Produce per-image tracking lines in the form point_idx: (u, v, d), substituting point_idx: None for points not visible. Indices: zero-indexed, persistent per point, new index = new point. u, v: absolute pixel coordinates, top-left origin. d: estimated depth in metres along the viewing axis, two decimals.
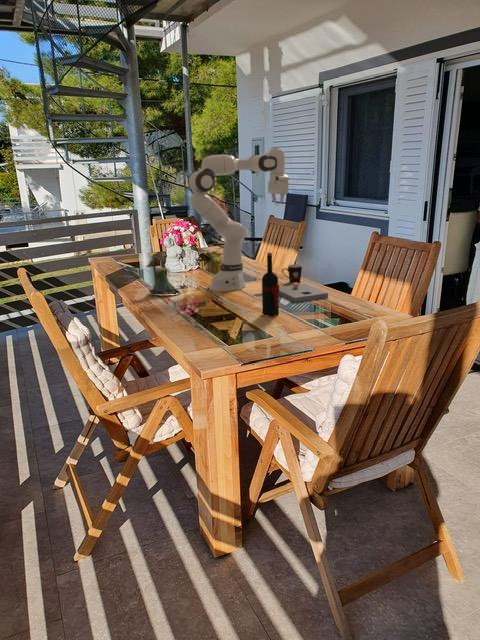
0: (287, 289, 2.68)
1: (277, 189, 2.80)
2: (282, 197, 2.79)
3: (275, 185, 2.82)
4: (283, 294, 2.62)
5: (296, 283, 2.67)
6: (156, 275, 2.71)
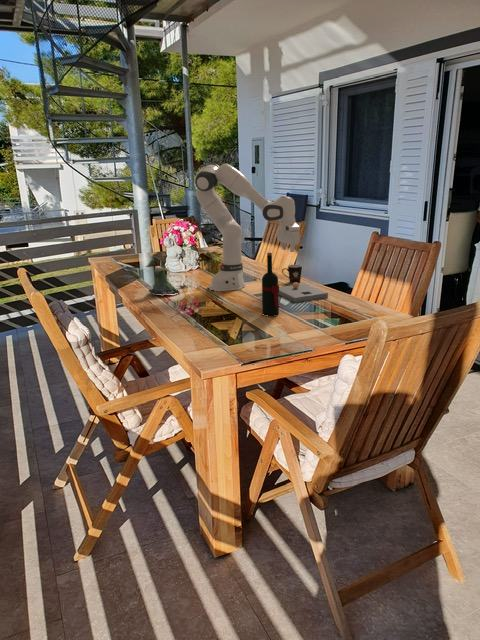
0: (287, 289, 2.68)
1: (287, 239, 2.67)
2: (293, 247, 2.66)
3: (285, 234, 2.68)
4: (283, 294, 2.62)
5: (296, 283, 2.67)
6: (155, 275, 2.72)
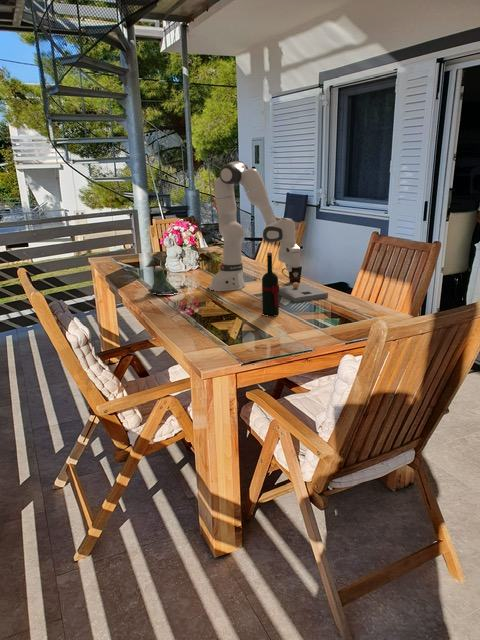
0: (287, 289, 2.68)
1: (288, 260, 2.69)
2: (290, 267, 2.72)
3: (286, 255, 2.71)
4: (283, 294, 2.62)
5: (296, 283, 2.67)
6: (155, 275, 2.72)
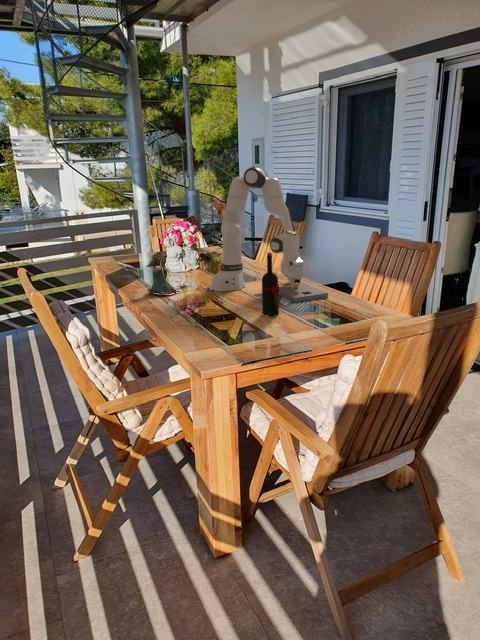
0: (287, 289, 2.68)
1: (290, 273, 2.68)
2: (293, 280, 2.71)
3: (289, 268, 2.70)
4: (283, 294, 2.62)
5: (296, 283, 2.67)
6: (154, 274, 2.73)
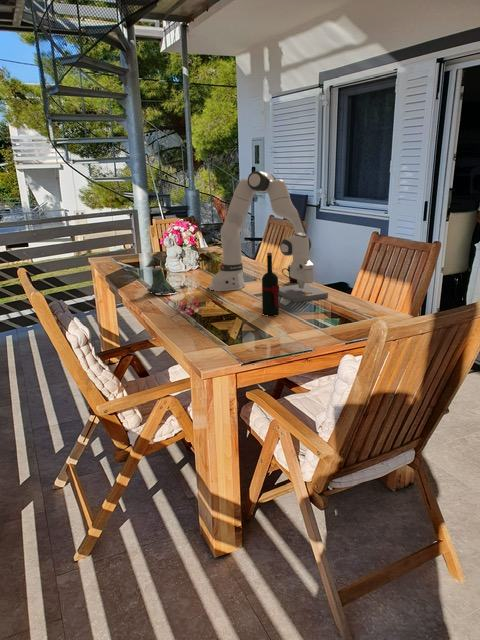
0: (287, 289, 2.68)
1: (300, 277, 2.59)
2: (302, 284, 2.61)
3: (298, 271, 2.60)
4: (283, 294, 2.62)
5: None
6: (153, 274, 2.74)
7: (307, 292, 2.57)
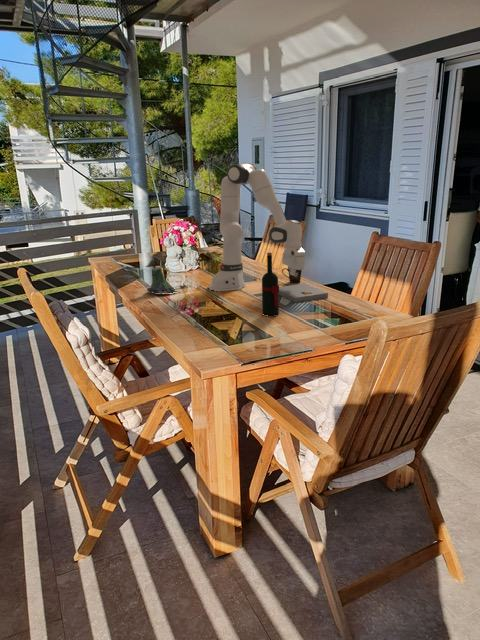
0: (287, 289, 2.68)
1: (292, 263, 2.63)
2: (294, 271, 2.66)
3: (290, 258, 2.65)
4: (283, 294, 2.62)
5: None
6: (152, 274, 2.75)
7: (307, 292, 2.57)
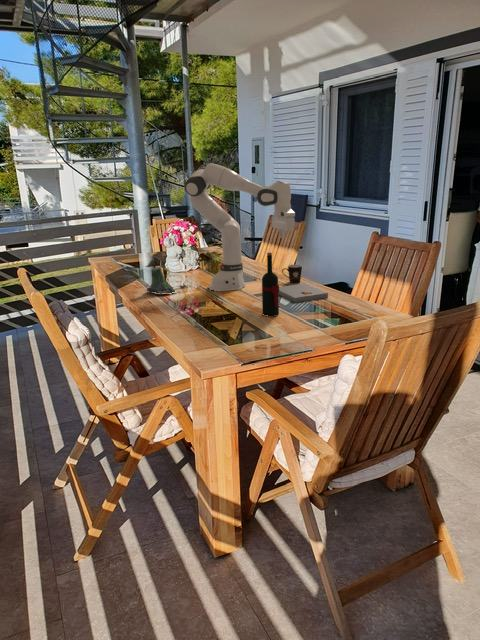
0: (287, 289, 2.68)
1: (282, 225, 2.59)
2: (284, 233, 2.62)
3: (280, 220, 2.61)
4: (283, 294, 2.62)
5: None
6: (152, 274, 2.75)
7: (306, 291, 2.58)
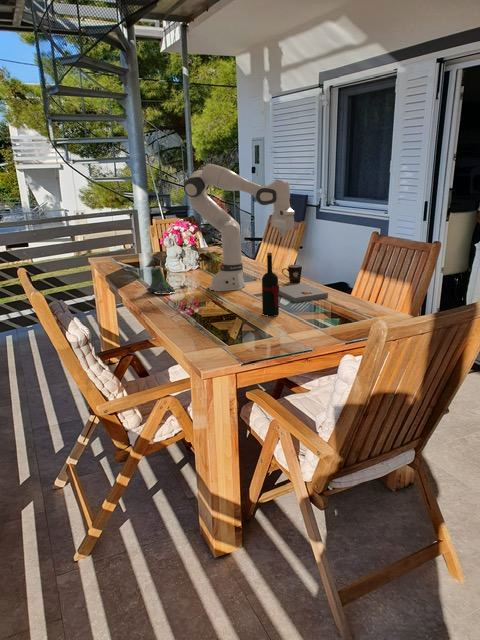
0: (287, 289, 2.68)
1: (281, 224, 2.59)
2: (283, 232, 2.61)
3: (279, 219, 2.60)
4: (283, 294, 2.62)
5: None
6: (152, 273, 2.76)
7: (306, 291, 2.58)
